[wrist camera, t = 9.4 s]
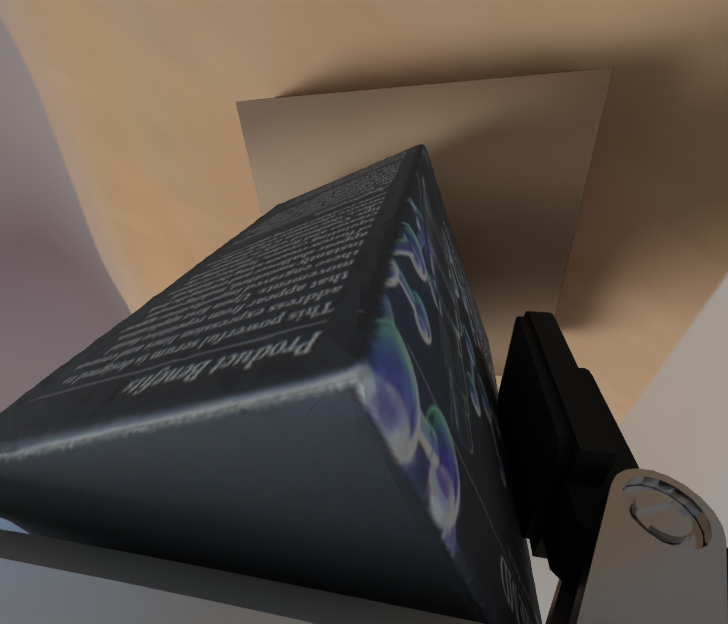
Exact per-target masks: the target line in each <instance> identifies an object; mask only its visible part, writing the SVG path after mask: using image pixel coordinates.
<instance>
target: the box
mask: <svg viewBox="0 0 728 624" xmlns="http://www.w3.org/2000/svg"><path fill="white" fill-rule="evenodd" d="M0 518H3V519H6V520H8V521H11V522H12V523H14V524H15V525H17V526H18V527H20V528H21V529H23V530H25V531H26V532H28V533H29V534H32V535H38V536H44V537H50V538H55V539H60V540H66V541H71V542H76V543H81V544H86V545H92V546H97V547H102V548H107V549H112V550H118V551H123V552H128V553H133V554H138V555H144V556H149V557H154V558H159V559H164V560H170V561H175V562H180V563H185V564H190V565H195V566H200V567H205V568H210V569H215V570H220V571H225V572H231V573H236V574H241V575H246V576H251V577H256V578H261V579H266V580H271V581H276V582H281V583H286V584H291V585H296V586H301V587H306V588H311V589H316V590H321V591H326V592H331V593H336V594H341V595H346V596H351V597H356V598H361V599H366V600H371V601H376V602H381V603H385V604H390V605H395V606H400V607H405V608H410V609H415V610H420V611H425V612H430V613H435V614H440V615H445V616H449V617H454V618H459V619H464V620H469V621H474V622H479V623H484V624H542V620H541V615H540V610H539V605H538V600H537V595H536V589H535V583H534V579H533V575H532V568H531V561H530V556H529V551H528V545H527V540H526V538H522V535H521V529H520V524H519V518H518V513H517V508H516V502H515V497H514V491H513V486H512V480H511V474H510V468H509V463H508V457H507V453H506V446H505V441H504V435H503V430H502V424H501V419H500V414H499V409H498V390H497V384H496V378H495V373H494V368H493V362H492V357H491V352H490V346H489V341H488V338H487V335H486V332H485V329H484V326H483V323H482V321H481V318H480V315H479V311H478V308H477V305H476V302H475V299H474V296H473V294H472V290H471V287H470V284H469V281H468V277H467V275H466V272H465V269H464V266H463V263H462V260H461V257H460V254H459V250H458V247H457V244H456V242H455V236H454V235H453V233H452V230H451V226H450V223H449V220H448V217H447V214H446V211H445V208H444V205H443V202H442V198H441V193H440V190H439V188H438V186H437V182H436V179H435V176H434V172H433V168H432V165H431V162H430V158H429V155H428V152H427V149H426V147H425V145H423V144H419V145H416V146H414V147H411V148H409V149H407V150H404V151H402V152H400V153H398V154H396V155H394V156H391V157H388V158H386V159H384V160H382V161H379V162H376V163H374V164H372V165H370V166H368V167H366V168H363V169H360V170H358V171H356V172H354V173H351V174H349V175H347V176H344V177H342V178H340V179H338V180H335V181H333V182H330V183H328V184H325V185H323V186H321V187H319V188H316V189H314V190H311V191H309V192H307V193H304V194H302V195H300V196H297V197H295V198H293V199H290V200H288V201H286V202H284V203H281V204H277V205H276V206H275V207H274V208H273V209H271V210H270V211H269V212H267V213H266V214H265V215H263V216H262V217H260V218H259V219H258V220H256V221H255V222H254V223H253V224H252V225H250V226H249V227H248V228H247V229H245V230H244V231H242V232H240V234H238V235H237V236H236V237H234V238H232V239H231V240H230V241H228V242H227V243H226V244H224V245H223V246H222V247H220V248H219V249H217V250H216V251H215V252H214V253H213V254H211V255H210V256H208V257H206V258H205V259H204V260H203V261H202V262H200V263H199V264H197V265H196V266H195V267H194V268H193V269H191V270H190V271H188V272H187V273H186V274H184V275H183V276H182V277H180V278H179V279H178V280H176V281H175V282H174V283H173V284H172V285H170V286H169V287H167V288H166V289H165V290H164V291H162V292H161V293H159V294H158V295H156V296H154V297H153V298H152V299H150V300H149V301H148V302H147V303H146V304H145V305H144V306H142V307H141V308H140V309H138V310H137V311H136V312H134V313H133V314H132V315H130V316H129V317H128V318H126V319H125V320H123V321H122V322H120V323H119V324H117V325H116V326H115V327H113V328H112V329H111V330H110V331H109V332H107V333H106V334H104V335H103V336H101V337H100V338H98V339H97V340H96V341H94V342H93V343H92V344H91V345H90V346H89V347H87V348H86V349H85V350H83V351H82V352H80V353H79V354H77V355H76V356H74V357H73V358H72V359H71V360H70V361H69V362H67V363H65V364H64V365H62V366H60V367H59V368H58V369H57V370H55V371H54V372H53V373H52V374H50V375H49V376H48V377H46V378H45V379H43V380H42V381H41V382H40V383H38V384H37V385H36V386H35V387H34V388H32V389H31V390H29V391H28V392H26V393H25V394H24V395H22V396H21V397H20V398H19V399H18V400H16V401H15V402H14V403H13V404H11V405H10V406H9V407H8V408H6V409H5V410H4V411H3V412H1V413H0Z"/></svg>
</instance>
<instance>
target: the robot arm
mask: <svg viewBox="0 0 728 624" xmlns="http://www.w3.org/2000/svg"><path fill="white" fill-rule="evenodd" d="M498 409H499V414H500V419H501V424H502V430H503V435H504V441H505V446H506V453H507V457H508V463H509V468H510V474H511V480H512V486H513V491H514V497H515V502H516V508H517V513H518V518H519V524H520V529H521V535H522V538H527V539H529V540H530V544H531V550H532V555H533V556H535V557H541V558H547V559H548V563H549V567H550V570H551V571H552V572H553V573H554V574H555V575H556V576H557V577H558V578H559V581H558V584H557V588H556V591H555V594H554V597H553V601H552V604H551V607H550V611H549V614H548V617H547V620H546V624H728V548H727V547H726V538H725V534H724V530H723V526H722V524H721V523H720V521H719V519H718V518H717V516H716V514H715V513H714V511H713V510H712V509H711V508H710V507H709V506H708V505H707V504H706V503H705V501H703V499H702V498H701V497H700V496H698V495H697V494H696V493H694V492H693V491H692V490H690V489H689V488H688V487H687V486H685V485H684V484H682V483H680V482H678V481H676V480H674V479H673V478H671V477H669V476H667V475H664V474H661V473H658V472H655V471H653V470H645V469H639V467H638V465H637V463H636V461H635V459H634V457H633V455H632V453H631V451H630V449H629V447H628V445H627V443H626V441H625V439H624V437H623V435H622V433H621V431H620V429H619V427H618V425H617V423H616V421H615V419H614V417H613V415H612V413H611V411H610V409H609V407H608V405H607V404H606V402H605V400H604V398H603V396H602V394H601V392H600V390H599V388H598V386H597V384H596V382H595V380H594V378H593V376H592V374H591V373H590V371H589V370H587V369H585V368H578V366H577V364H576V362H575V360H574V357H573V355H572V353H571V351H570V349H569V347H568V345H567V343H566V341H565V338H564V336H563V334H562V332H561V330H560V328H559V326H558V324H557V321H556V319H555V317H554V315H553V314H552V313H550V312H535V311H526V312H525V314H524V317H522V316H517V317H516V320H515V323H514V328H513V332H512V336H511V341H510V345H509V350H508V354H507V358H506V363H505V367H504V371H503V376H502V380H501V385H500V389H499V394H498ZM0 624H484V623H479V622H474V621H469V620H464V619H459V618H454V617H449V616H445V615H440V614H435V613H430V612H425V611H420V610H415V609H410V608H405V607H400V606H395V605H390V604H385V603H381V602H376V601H371V600H366V599H361V598H356V597H351V596H346V595H341V594H336V593H331V592H326V591H321V590H316V589H311V588H306V587H301V586H296V585H291V584H286V583H281V582H276V581H271V580H266V579H261V578H256V577H251V576H246V575H241V574H236V573H231V572H225V571H220V570H215V569H210V568H205V567H200V566H195V565H190V564H185V563H180V562H175V561H170V560H164V559H159V558H154V557H149V556H144V555H138V554H133V553H128V552H123V551H118V550H112V549H107V548H102V547H97V546H92V545H86V544H81V543H76V542H71V541H66V540H60V539H55V538H50V537H44V536H38V535H32V534H29V533H28V532H26V531H25V530H23V529H21V528H20V527H18V526H17V525H15V524H14V523H12V522H11V521H8V520H6V519H3V518H0Z"/></svg>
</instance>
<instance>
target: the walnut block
mask: <svg viewBox="0 0 728 624" xmlns="http://www.w3.org/2000/svg"><path fill="white" fill-rule="evenodd" d="M612 71H613V68H608V69H593V70H579V71H567V72H556V73H545V74H534V75H522V76H511V77H500V78H489V79H478V80H467V81H456V82H445V83H433V84H422V85H411V86H400V87H389V88H378V89H367V90H356V91H344V92H333V93H322V94H311V95H300V96H289V97H278V98H268V99H258V100H249V101H239V102H236V105H237V109H238V114H239V118H240V123H241V127H242V131H243V136H244V140H245V144H246V149H247V153H248V157H249V162H250V166H251V171H252V175H253V179H254V184H255V188H256V192H257V197H258V201H259V206H260V210H261V214H262V216H263V215H265V214H266V213H267V212H269V211H270V210H271V209H273V208H274V207H275V206H276V205H277V204H281V203H284V202H286V201H288V200H290V199H293V198H295V197H297V196H300V195H302V194H304V193H307V192H309V191H311V190H314V189H316V188H319V187H321V186H323V185H325V184H328V183H330V182H333V181H335V180H338V179H340V178H342V177H344V176H347V175H349V174H351V173H354V172H356V171H358V170H360V169H363V168H366V167H368V166H370V165H372V164H374V163H376V162H379V161H382V160H384V159H386V158H388V157H391V156H394V155H396V154H398V153H400V152H402V151H404V150H407V149H409V148H411V147H414V146H416V145H419V144H423V145H425V147H426V149H427V152H428V155H429V158H430V162H431V165H432V168H433V172H434V176H435V179H436V182H437V186H438V188H439V190H440V193H441V198H442V202H443V205H444V208H445V211H446V214H447V217H448V220H449V223H450V226H451V230H452V233H453V235H454V236H455V242H456V244H457V247H458V250H459V254H460V257H461V260H462V263H463V266H464V269H465V272H466V275H467V277H468V281H469V284H470V287H471V290H472V294H473V296H474V299H475V302H476V305H477V308H478V311H479V315H480V318H481V321H482V323H483V326H484V329H485V332H486V335H487V338H488V341H489V346H490V352H491V357H492V362H493V368H494V373H495V375H498V376H503V371H504V367H505V363H506V358H507V354H508V350H509V345H510V341H511V336H512V332H513V328H514V323H515V320H516V317H517V316H522V317H524V314H525V312H526V311H535V312H550V313H552V314H553V315H554V316H555V312H556V307H557V303H558V299H559V295H560V291H561V286H562V282H563V278H564V274H565V269H566V265H567V261H568V257H569V253H570V248H571V244H572V240H573V236H574V232H575V227H576V223H577V219H578V215H579V210H580V206H581V202H582V198H583V194H584V189H585V185H586V181H587V177H588V173H589V168H590V164H591V160H592V156H593V151H594V147H595V143H596V139H597V135H598V130H599V126H600V122H601V118H602V114H603V109H604V105H605V101H606V97H607V92H608V88H609V84H610V80H611V76H612Z"/></svg>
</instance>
